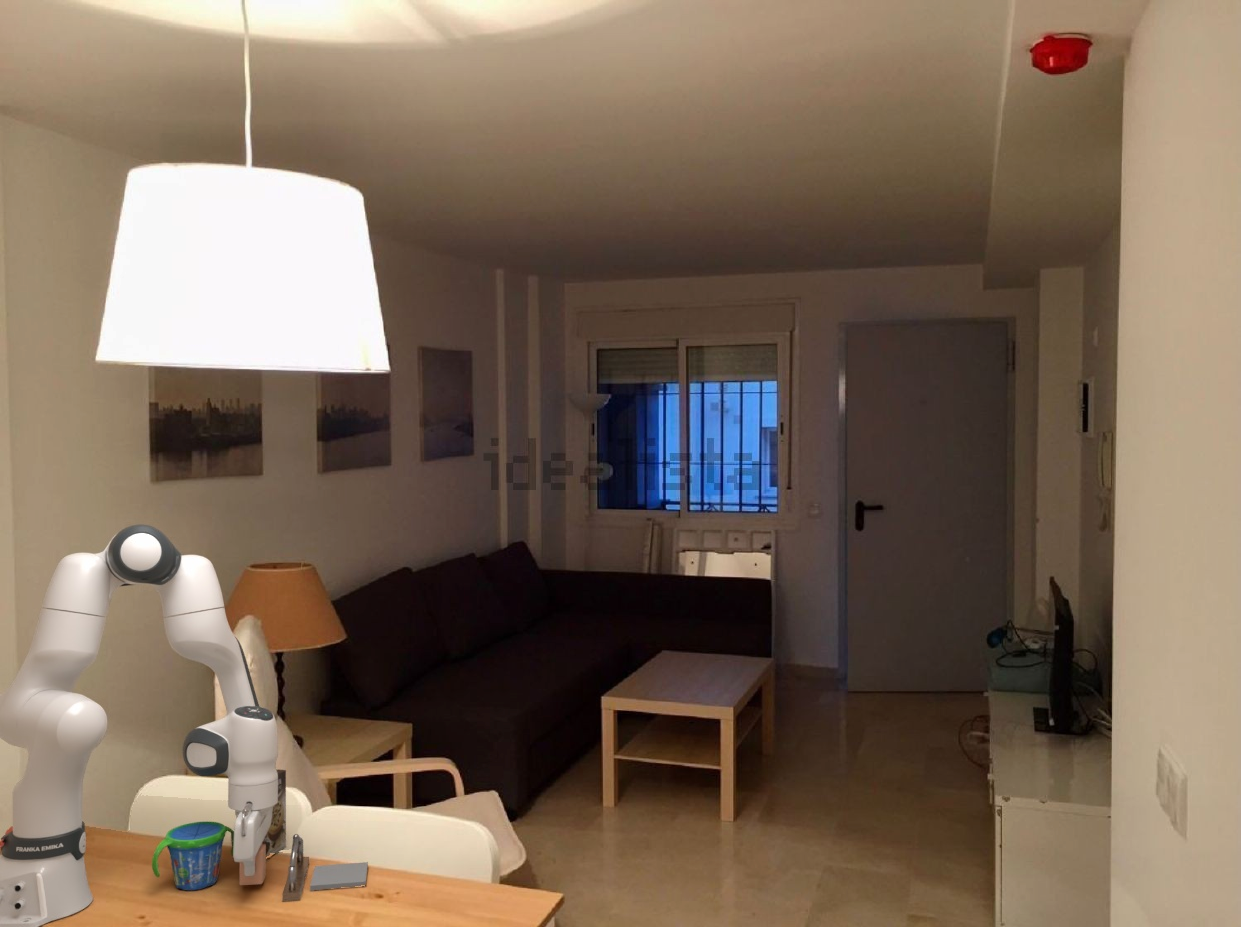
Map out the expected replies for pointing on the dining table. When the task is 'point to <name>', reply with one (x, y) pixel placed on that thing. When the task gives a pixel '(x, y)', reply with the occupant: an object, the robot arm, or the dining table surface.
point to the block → (260, 869)
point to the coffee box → (277, 819)
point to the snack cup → (194, 853)
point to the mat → (339, 876)
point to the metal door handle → (296, 871)
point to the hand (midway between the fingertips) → (252, 869)
